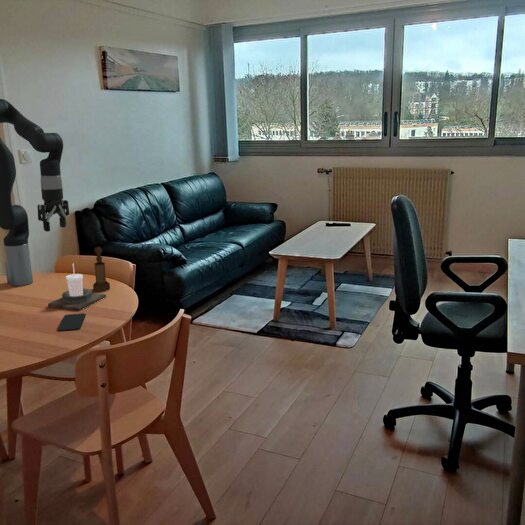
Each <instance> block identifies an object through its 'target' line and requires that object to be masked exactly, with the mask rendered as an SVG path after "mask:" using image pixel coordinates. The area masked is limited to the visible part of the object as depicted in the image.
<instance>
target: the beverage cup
mask: <svg viewBox="0 0 525 525" xmlns="http://www.w3.org/2000/svg"><path fill="white" fill-rule="evenodd" d="M72 272H73V273H72V274H69V275H66V276H65V280H66V282H67V287H68V290H69V294H70V296H81V295H83V289H84V287H83V278H84V275H83V274H81V273H75V272H76V270H75V263H72Z"/></svg>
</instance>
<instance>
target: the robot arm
mask: <svg viewBox="0 0 525 525" xmlns="http://www.w3.org/2000/svg"><path fill="white" fill-rule="evenodd" d="M3 123H5V124H6V123H7V124H10V125H13V128H14V131H15V132H16V134H17V135H18V136H19V137H21V138H22V139H24V140H26V141H27V142H28V143H29V144H30V145H31V147H32V148H33V149H34V151H37V152H39V153H43V154H44V153H45V154H46V153H48V155H47V157H46V158H43V159H41V160H40V162H39V170H40V190H41V199H42V200H43V204H37V220H38V221H41V222H42V224H43V231H44V232H48V233H49V232H50V231H51V225H50V224H51V222H50V220H51V218H52V217H53V215H56V214H57V215H58V216H59V227H60V228H66V226H67V222H66V221H67V219H66V218H67V217H68V216H70V207H69V201H68V200H67V199H66V200H65V199H64V190H63V188H64V187H63V181H62V172H61V160H62V157H63V156H62V155H63V152H64V151H63V150H64V141H63V138H62V136H61V135H60V134H59V133H57V132H45V131H44V129H43V128H42V127H41V126H39V125H38V124H36V123H35V122H33V121H32V120H30V119H28V118H26V116H24V115H23V114H22V113H21V112H20V111H19V110H18V109H17V108H16V107H15V106H14V105H13V104H12V103H10V102H9V101H8V100H6V99H3V98H0V124H3ZM15 161H16V160H15V157H14V154H13V153H12V151H11V150H10V148H9V147H8V146H7V145H6V144H5V142H4V141H3V139H2V138H1V137H0V229H2V230H3V231H4V230H5V231H7V230H8V233H7V234H6V235H5V236H4V237H3V247H4V253H5V260H6V261H5V262H4V268H5V275H6V281H7V285H9V286H12V287H23V286H28V285H30V284H32V283H33V282H34V279H33V278H34V277H33V272H32V271H33V270H32V264H31V263H32V262H31V255H30V247H29V237H30V229H29V228H30V227H29V217H28V213H27V211H26V209H25V208H24V207H23V206H22V205H19V204H12V190H13V188H14V184H15V180H16V176H17V168H16V162H15ZM27 284H28V285H27Z"/></svg>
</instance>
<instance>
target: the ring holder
mask: <svg viewBox="0 0 525 525" xmlns="http://www.w3.org/2000/svg"><path fill="white" fill-rule="evenodd" d="M105 297H106V298H107V294H104V293H98V292H97V293H95V292H93V290H91V289H89V288H83V295H81V296H70V294H69V289H68V290H67V291H63V293H62V294H61V297H60V298H58V299H55V300H54V301H53V300H52V301H50V302H49V303H47V306H48V308H55V309H61V308H62V309H63V310H68V309H69V310H71V311H75V310H77V311H76V312H80V311H82V310H84V309H86V308H88V307H90V306H92V305H94V304H96V303H98V302H100V301H102V300H104V299H106V298H105ZM103 298H104V299H103ZM101 299H102V300H101ZM99 300H100V301H99ZM97 301H98V302H97ZM95 302H96V303H95ZM91 304H92V305H91ZM89 305H90V306H89ZM87 306H88V307H87ZM85 307H86V308H85ZM83 308H84V309H83ZM69 310H68V311H69Z"/></svg>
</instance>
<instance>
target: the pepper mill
mask: <svg viewBox="0 0 525 525" xmlns="http://www.w3.org/2000/svg"><path fill="white" fill-rule="evenodd" d="M93 250H94V254H95V255H96V257H95V259H96V262H95V263H94V272H95V275H94V276H95V282H94V283H93V284H92V289H93V290H92V291H94V292H96V291H98V292H97V293H101V292H100V291H104V292H107V291H106V290H108V291H110V289H111V285H110V282H109V281H107V276H106V275H107V274H106V264H105V262H104V261H102V260H103V257H102V253H103V248H102V247H101V246H95V248H94V249H93Z"/></svg>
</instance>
